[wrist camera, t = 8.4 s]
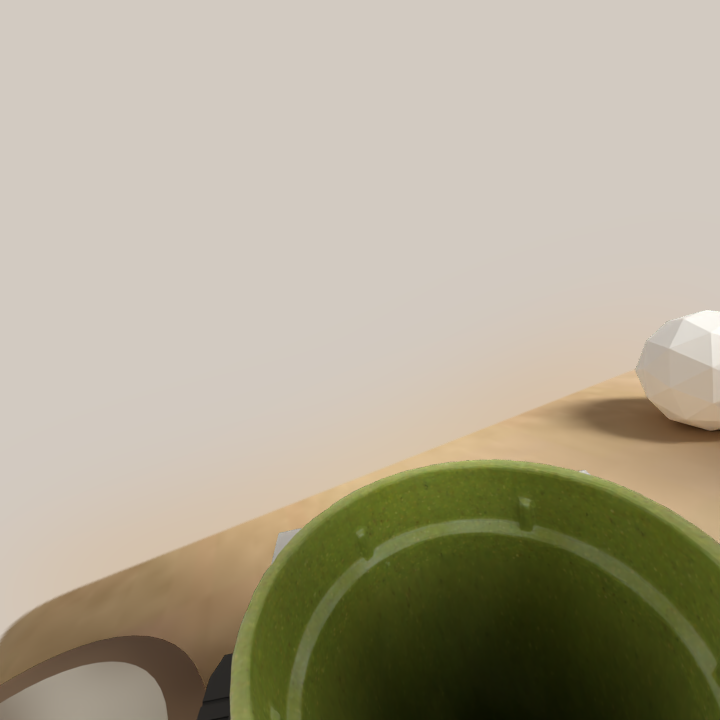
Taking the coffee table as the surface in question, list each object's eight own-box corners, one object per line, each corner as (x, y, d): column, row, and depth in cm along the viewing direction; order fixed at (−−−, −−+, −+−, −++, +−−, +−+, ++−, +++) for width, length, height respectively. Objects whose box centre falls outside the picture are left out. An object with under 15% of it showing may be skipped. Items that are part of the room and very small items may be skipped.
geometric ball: (730, 473, 26) (742, 413, 21) (616, 405, 32) (603, 346, 27) (816, 394, 26) (848, 315, 21) (685, 341, 32) (686, 270, 27)
